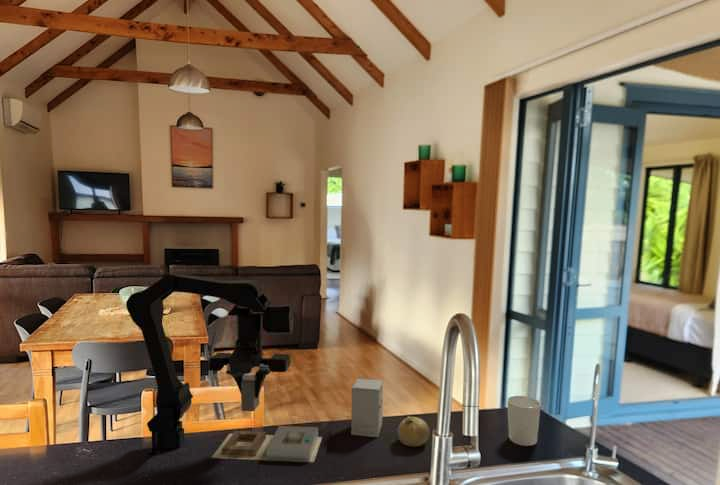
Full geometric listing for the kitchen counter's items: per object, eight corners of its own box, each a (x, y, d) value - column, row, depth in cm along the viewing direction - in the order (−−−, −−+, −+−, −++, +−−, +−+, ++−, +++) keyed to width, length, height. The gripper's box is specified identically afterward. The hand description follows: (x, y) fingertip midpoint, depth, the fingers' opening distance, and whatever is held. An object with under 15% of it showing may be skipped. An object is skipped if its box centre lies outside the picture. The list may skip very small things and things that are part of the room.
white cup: (505, 443, 118) (506, 404, 117) (507, 430, 125) (508, 393, 124) (538, 449, 115) (540, 409, 114) (539, 435, 122) (540, 398, 121)
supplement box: (378, 438, 120) (378, 389, 120) (350, 435, 122) (350, 387, 121) (383, 425, 128) (383, 379, 127) (356, 422, 129) (356, 377, 128)
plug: (241, 410, 111) (240, 377, 111) (247, 403, 115) (246, 371, 115) (253, 411, 111) (253, 378, 110) (259, 403, 115) (258, 371, 115)
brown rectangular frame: (222, 454, 110) (221, 448, 110) (235, 436, 119) (235, 430, 118) (255, 456, 109) (255, 449, 109) (266, 437, 118) (266, 432, 118)
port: (266, 460, 107) (266, 447, 107) (279, 435, 119) (279, 424, 119) (309, 461, 107) (309, 449, 106) (318, 437, 119) (318, 425, 118)
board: (211, 461, 108) (211, 457, 108) (229, 437, 120) (229, 433, 120) (313, 466, 107) (313, 462, 106) (322, 441, 118) (322, 437, 118)
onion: (400, 434, 123) (401, 407, 122) (431, 438, 121) (431, 411, 120) (394, 448, 115) (394, 420, 115) (427, 453, 113) (427, 424, 112)
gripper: (197, 341, 105) (199, 409, 106) (279, 343, 103) (280, 412, 104) (216, 329, 116) (217, 391, 117) (290, 330, 114) (291, 393, 115)
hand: (250, 397), depth 113 cm, fingers closed on plug, 3 cm apart
